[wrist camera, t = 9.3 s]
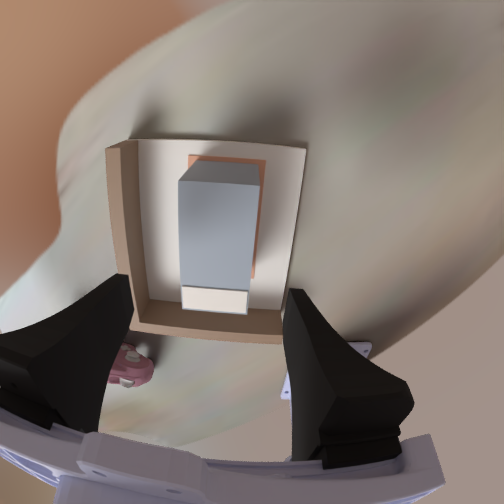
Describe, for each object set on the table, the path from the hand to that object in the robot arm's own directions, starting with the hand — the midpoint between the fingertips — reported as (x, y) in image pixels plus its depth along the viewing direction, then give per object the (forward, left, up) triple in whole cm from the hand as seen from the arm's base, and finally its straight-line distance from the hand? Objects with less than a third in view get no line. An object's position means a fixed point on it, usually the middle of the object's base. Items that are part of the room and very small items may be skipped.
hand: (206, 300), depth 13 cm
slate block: (0, 0, -9) cm, 9 cm away
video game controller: (-15, +11, -10) cm, 21 cm away
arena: (-1, +1, -9) cm, 9 cm away
